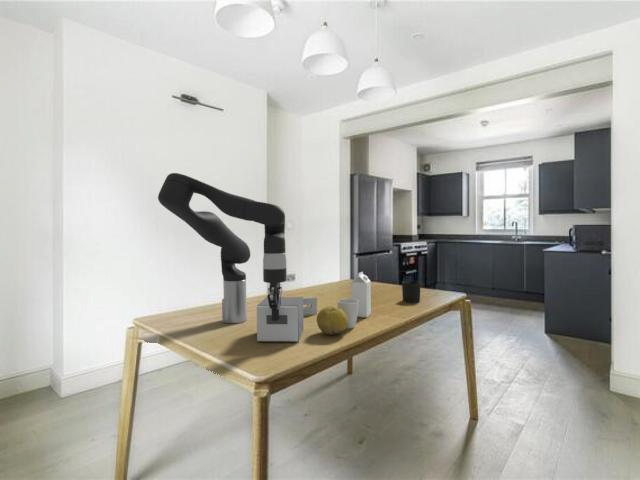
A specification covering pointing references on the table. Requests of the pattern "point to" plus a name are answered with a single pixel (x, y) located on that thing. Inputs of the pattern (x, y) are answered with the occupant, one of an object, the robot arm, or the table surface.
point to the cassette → (312, 308)
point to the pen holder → (411, 291)
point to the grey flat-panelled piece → (277, 324)
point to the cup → (349, 310)
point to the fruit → (332, 320)
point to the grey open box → (289, 302)
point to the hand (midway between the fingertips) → (275, 320)
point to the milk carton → (362, 294)
